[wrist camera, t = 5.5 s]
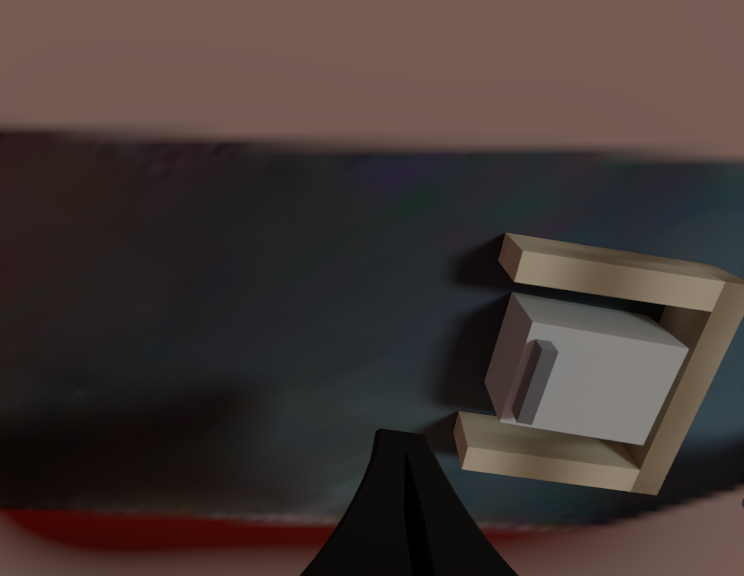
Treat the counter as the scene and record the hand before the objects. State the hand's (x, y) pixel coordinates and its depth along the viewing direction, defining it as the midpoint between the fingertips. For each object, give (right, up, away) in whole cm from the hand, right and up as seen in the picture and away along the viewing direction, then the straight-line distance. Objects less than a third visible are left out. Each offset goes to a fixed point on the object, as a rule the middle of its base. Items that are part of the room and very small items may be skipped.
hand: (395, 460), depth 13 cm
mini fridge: (+8, +2, +8) cm, 12 cm away
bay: (+8, +2, +8) cm, 11 cm away
